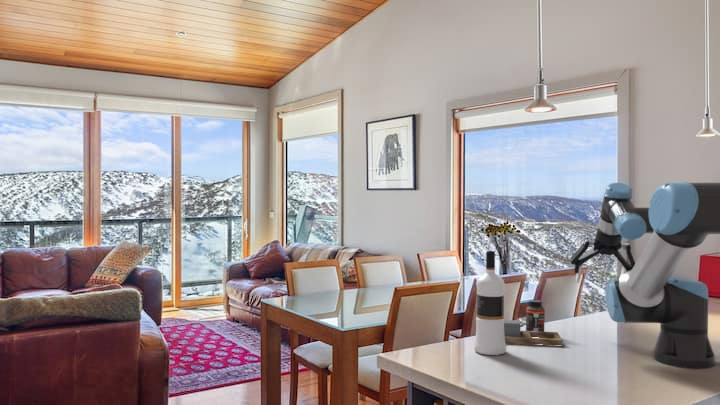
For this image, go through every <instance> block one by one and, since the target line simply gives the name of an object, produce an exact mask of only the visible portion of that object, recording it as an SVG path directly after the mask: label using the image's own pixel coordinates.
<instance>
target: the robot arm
mask: <svg viewBox="0 0 720 405" xmlns="http://www.w3.org/2000/svg"><path fill="white" fill-rule="evenodd" d="M632 197H633V189H632V187H631V186H630V185H628V184H625V183H622V182H612V183H609V184H608V185H607V186H606V188H605V191H604V194H603V199H602V200H603V201H602V205H601V210H600V216H599V220H598V225H597V229H596V233H595V234H596V235H595V239H594V240H593V239H592V240H590V239H589V238H588V237H586V238H584V240H583V242H582V244H581V246H579V247H578V249H577V250H576V251H575V252H574V253H573V254H572V255H571V256H570V257H569V258H570V259H569V260H570V264H571V265H574V269H573V270H574V271H573V272H574V274H575V280H576V283H577V284H579V283H580V279H581V275H582V268H583V265H584V264H585V263H586V262H588V261H589V260H591V259H592V258H593V257H596V256H598V255H599V254H600V255H603V256H604V255H606V256H611V255H613V256H614V257H615V258H616V259H617V260H618V261H619V263H620V264H621V265H622V267H621V270H620V275H619V278H618V280H615V279H613V280H608V281H607V282H606V284H605V290H604V293H605V294H604V295H605V303H606V309H607V312H608V316H609V317H610V319H611V320H612V321H613V322H615V323H624V324H634V323H635V324H660V330H659V334H658V336H657V339H656V342H655V345H654V347H653V352H652V353H653V354H652V356H653V359H654V360H656V361H657V362H659V363H662V364H666V365H669V366H674V367H679V368H680V367H681V368H689V369H709V368H713V367H715V366H716V356H715V352H714V350H713V346H712V344H711V341H710V339H709V300H710V297H709V290H708V289H709V288H708V286H707V284H705V283H704V282H702V281H698V280H694V279H689V278H684V277H678V276H672V275H673V274H674V272H675V271H676V269H677V268H678V266H679V265H680V263H681V262H682V261H683V259H684V257H685V256H686V255H687V253H688V252H689V251H690V249H693V248H696V247H697V248H698V246H700V245H701V244H702V243H704V241H705V240H706V238H707V237H708V235H720V182H687V181H677V182H668V183H663V184H662V185H660V186H658V187H657V189H655V191H654V192H653V194H652V196H651V198H650V200H649V204H650V206H649V207H636V206H635V205H634V203H633V202H632ZM645 234H651V236H650V237H649V239H648V241H647V243H646V244H645V246H644V247H643V250H642V251H641V253H640V254H639V256H638V258H637V260H636V261H635V258H634V257H633V254H632V251H631V248H632V246H631V243H630V242H629V241H634V240H636V239H640V238H642V237H643V236H644V235H645ZM622 239H624V240H628V241H625V242H622ZM591 246H592V247H591ZM590 247H591V249H589V248H590ZM622 248H623V250H624V251H625V252H626V255H627V258H628V260H629V262H630V264H629V263H628V261H627V260H626V259H625V258H624V256H623V255H622V254H621V252H620V251H619V250H621V249H622ZM588 249H589V250H588Z"/></svg>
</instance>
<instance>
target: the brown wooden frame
mask: <svg viewBox="0 0 720 405" xmlns="http://www.w3.org/2000/svg"><path fill="white" fill-rule="evenodd" d="M532 337H539V338H532ZM505 343H506V345H520V344H543V345H562V346H563V339H562V337H561V336H560V334H559V333H558V331H557V332H556V331H544V332H541V331H526V330H520V337H510V336H505Z"/></svg>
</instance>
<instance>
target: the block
mask: <svg viewBox="0 0 720 405" xmlns="http://www.w3.org/2000/svg"><path fill="white" fill-rule="evenodd" d="M520 331H521V322H520V320H519V319H518V320H517V319H515V320H513V319H505V321H504V334H505V336H510V337H520Z"/></svg>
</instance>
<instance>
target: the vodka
mask: <svg viewBox="0 0 720 405" xmlns="http://www.w3.org/2000/svg"><path fill="white" fill-rule="evenodd" d="M495 269H496V252H495V251H493V250H487V251H486V252H485V273H484V274H482V275H481V276H479V277H478V278H477V279H476V282H475V285H476V310H475V311H476V317H475V324H476V326H475V327H476V329H475V340H474V344H473V346H474V351H475V352H476V353H478V354H479V355H484V356H490V355H491V356H493V357H495V355H496V356H501V354H502V355H503V354H505V353H506V352H507V344H506V343H505V334H504V321H505V320H506V318H505V295H506V294H505V288H506V284H505V281H504V279H503V277H500V276H499V275H498V274H496V270H495ZM491 356H490V357H491Z"/></svg>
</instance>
